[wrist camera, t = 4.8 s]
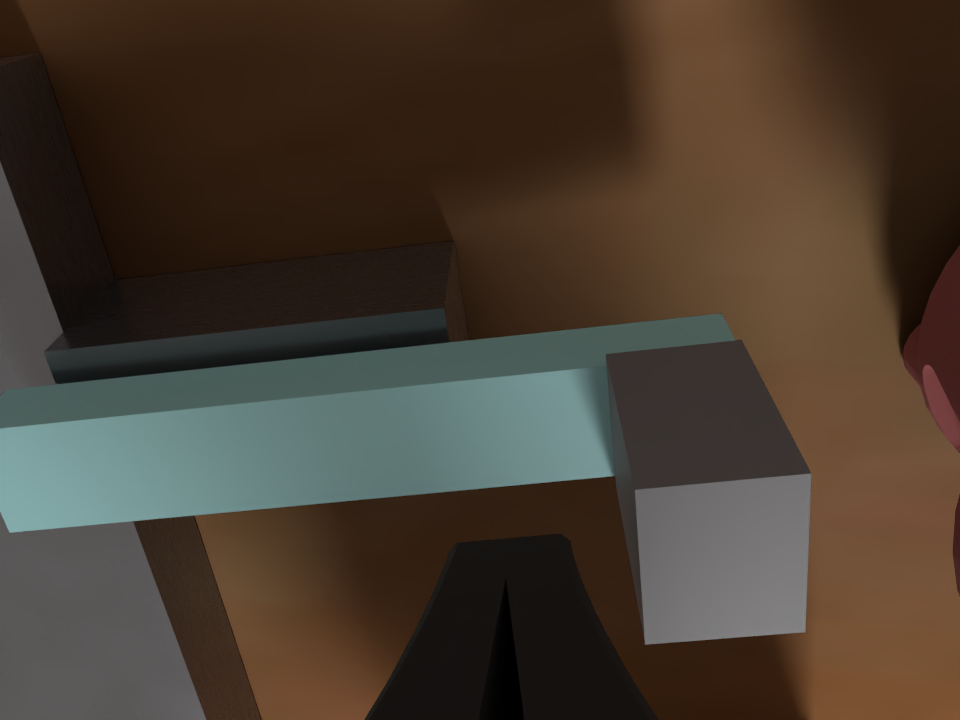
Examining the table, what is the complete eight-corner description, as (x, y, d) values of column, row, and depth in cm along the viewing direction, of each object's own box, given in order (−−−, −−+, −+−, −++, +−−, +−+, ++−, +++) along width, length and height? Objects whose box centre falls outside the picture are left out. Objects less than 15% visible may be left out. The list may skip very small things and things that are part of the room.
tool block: (417, 0, 16) (398, 24, 13) (554, 910, 28) (560, 1030, 25) (-645, 146, 18) (-869, 196, 15) (-98, 946, 30) (-165, 1062, 27)
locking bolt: (721, 302, 15) (811, 473, 10) (723, 428, 16) (804, 631, 12) (2, 379, 16) (-189, 565, 11) (50, 494, 17) (-109, 703, 13)
